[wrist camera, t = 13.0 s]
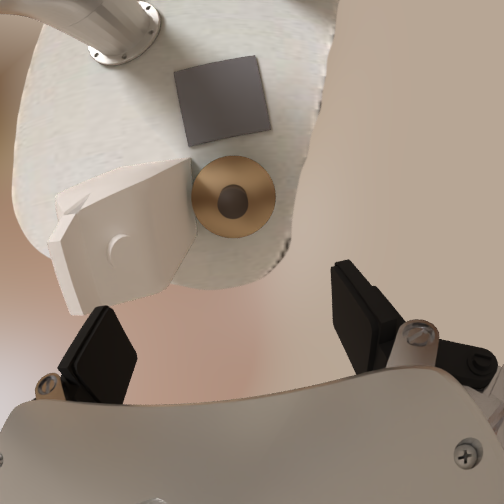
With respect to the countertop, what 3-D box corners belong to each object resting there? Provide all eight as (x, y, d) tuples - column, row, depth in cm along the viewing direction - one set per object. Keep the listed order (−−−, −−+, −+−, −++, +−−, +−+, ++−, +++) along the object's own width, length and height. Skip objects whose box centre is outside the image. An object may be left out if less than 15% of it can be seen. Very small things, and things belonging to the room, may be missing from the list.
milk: (119, 167, 37) (-3, 209, 13) (190, 157, 37) (115, 182, 13) (130, 239, 42) (43, 340, 18) (197, 234, 42) (154, 350, 18)
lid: (183, 166, 34) (176, 169, 29) (266, 148, 33) (270, 148, 29) (203, 243, 38) (199, 256, 34) (280, 227, 38) (286, 238, 33)
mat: (174, 73, 32) (173, 72, 32) (254, 56, 32) (255, 55, 31) (189, 146, 37) (188, 146, 36) (270, 129, 36) (270, 129, 36)
